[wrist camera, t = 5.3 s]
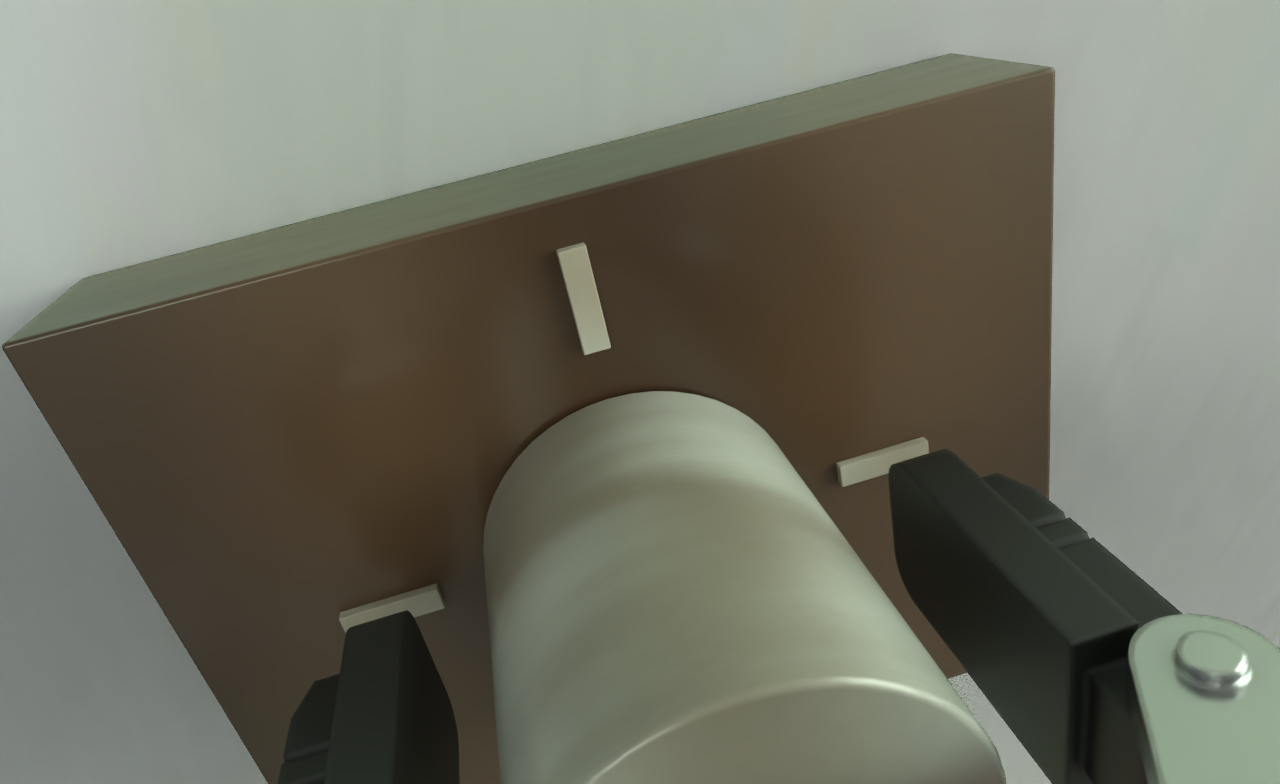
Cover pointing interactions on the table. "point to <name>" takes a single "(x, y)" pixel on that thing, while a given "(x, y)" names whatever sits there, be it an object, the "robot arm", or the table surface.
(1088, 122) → the table surface
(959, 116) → the dial panel
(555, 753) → the dial
